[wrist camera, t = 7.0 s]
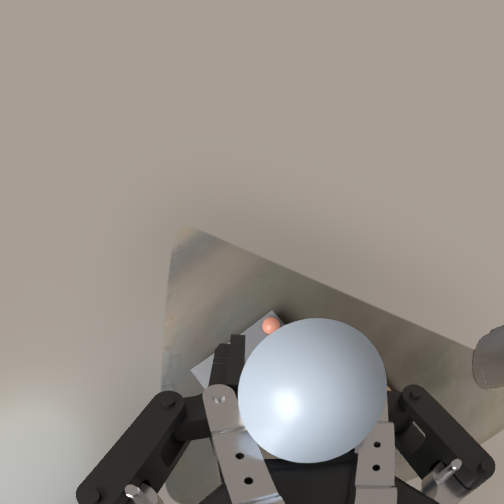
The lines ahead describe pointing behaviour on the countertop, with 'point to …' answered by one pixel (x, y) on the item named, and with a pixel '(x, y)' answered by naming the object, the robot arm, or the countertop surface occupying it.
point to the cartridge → (312, 390)
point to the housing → (251, 342)
